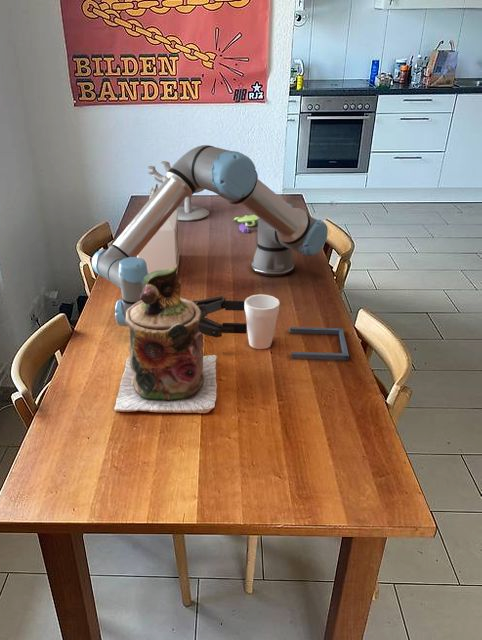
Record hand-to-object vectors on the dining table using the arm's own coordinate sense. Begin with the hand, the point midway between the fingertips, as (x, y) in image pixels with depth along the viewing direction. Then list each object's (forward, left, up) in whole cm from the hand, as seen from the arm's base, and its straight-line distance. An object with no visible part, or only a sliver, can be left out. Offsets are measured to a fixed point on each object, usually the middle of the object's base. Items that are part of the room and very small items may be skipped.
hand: (247, 316), depth 160 cm
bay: (-14, +14, -8) cm, 21 cm away
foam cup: (-3, +3, -9) cm, 9 cm away
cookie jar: (+30, +3, -9) cm, 31 cm away
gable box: (-15, -62, -9) cm, 64 cm away
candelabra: (-60, -102, -9) cm, 119 cm away
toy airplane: (-74, -67, -9) cm, 100 cm away
